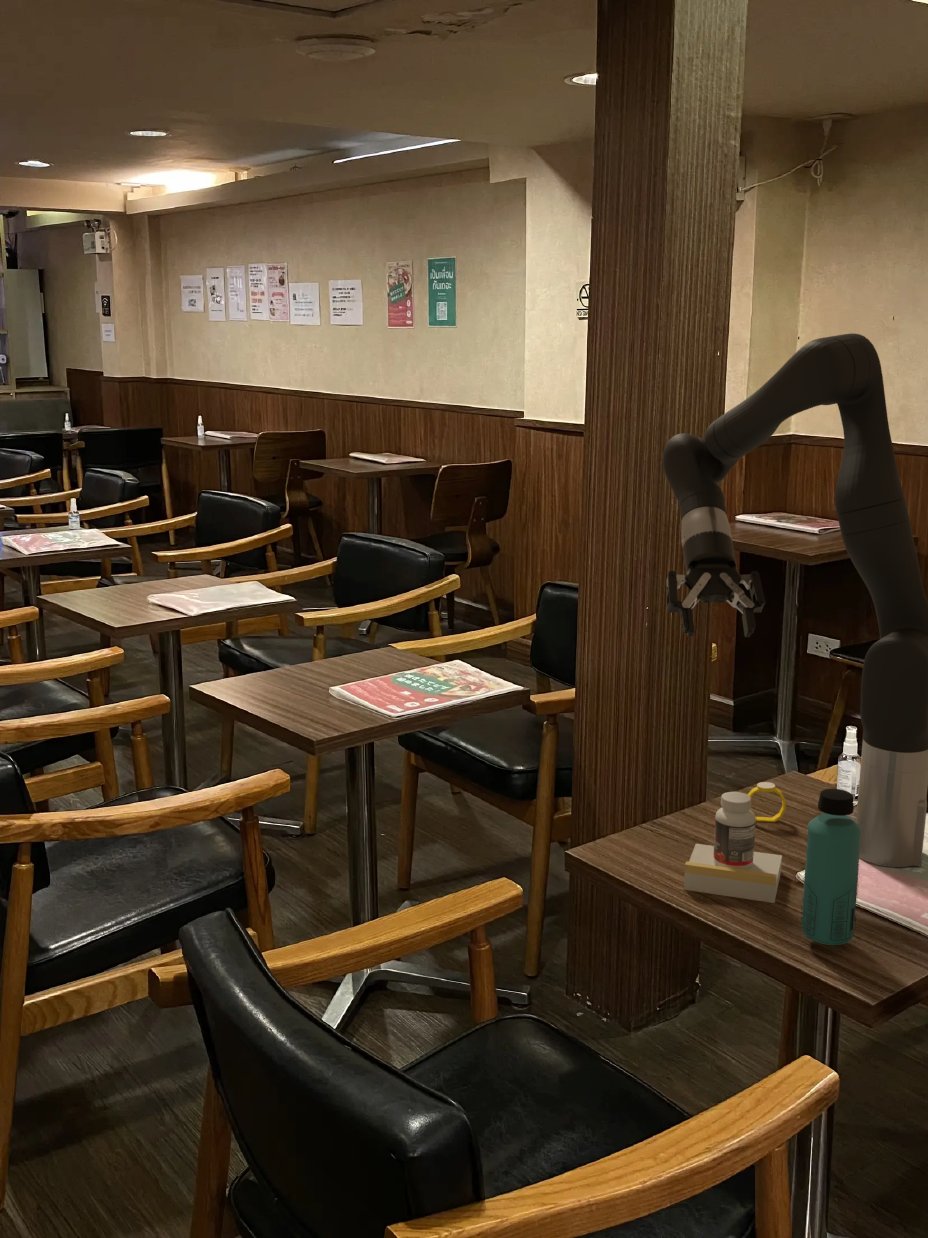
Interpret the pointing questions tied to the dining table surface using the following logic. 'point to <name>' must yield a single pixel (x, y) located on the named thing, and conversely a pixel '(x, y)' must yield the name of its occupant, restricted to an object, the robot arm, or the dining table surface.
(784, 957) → the dining table surface
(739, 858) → the pill bottle
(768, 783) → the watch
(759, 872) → the dock
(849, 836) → the beverage bottle
